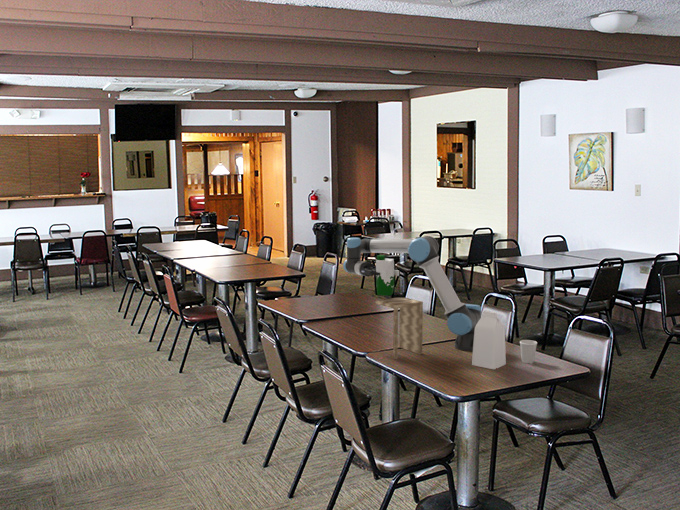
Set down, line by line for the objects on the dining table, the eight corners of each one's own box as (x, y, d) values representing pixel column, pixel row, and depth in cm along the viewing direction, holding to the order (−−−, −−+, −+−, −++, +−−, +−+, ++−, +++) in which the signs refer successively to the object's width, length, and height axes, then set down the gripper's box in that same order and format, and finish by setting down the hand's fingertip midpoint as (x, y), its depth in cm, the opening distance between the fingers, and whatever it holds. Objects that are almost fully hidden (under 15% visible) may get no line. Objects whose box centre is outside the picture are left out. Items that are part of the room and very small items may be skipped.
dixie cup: (523, 364, 338) (523, 344, 336) (516, 359, 346) (516, 340, 344) (539, 363, 339) (540, 343, 338) (532, 359, 347) (532, 339, 346)
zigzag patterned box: (375, 352, 360) (375, 300, 356) (401, 347, 370) (402, 296, 367) (395, 359, 347) (395, 305, 344) (422, 353, 357) (422, 301, 354)
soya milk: (378, 292, 364) (377, 254, 361) (395, 292, 361) (395, 254, 359) (375, 295, 355) (374, 256, 352) (392, 296, 353) (392, 257, 350)
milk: (471, 364, 337) (473, 312, 334) (483, 359, 346) (485, 308, 343) (494, 369, 330) (495, 315, 326) (505, 364, 338) (507, 311, 335)
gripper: (379, 273, 378) (407, 279, 360) (349, 277, 366) (376, 283, 348) (379, 260, 377) (407, 264, 359) (349, 263, 365) (376, 268, 347)
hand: (392, 274), depth 353 cm, fingers closed on soya milk, 8 cm apart
